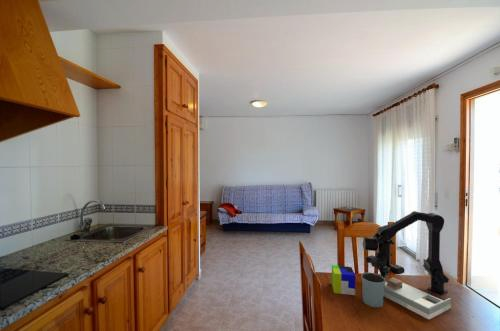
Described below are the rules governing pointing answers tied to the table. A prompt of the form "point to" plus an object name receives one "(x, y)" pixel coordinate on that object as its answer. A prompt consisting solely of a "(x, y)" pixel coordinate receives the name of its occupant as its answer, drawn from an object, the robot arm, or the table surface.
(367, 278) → the grey cup
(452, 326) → the table surface
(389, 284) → the block
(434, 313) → the tray
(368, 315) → the table surface
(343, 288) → the puzzle toy
